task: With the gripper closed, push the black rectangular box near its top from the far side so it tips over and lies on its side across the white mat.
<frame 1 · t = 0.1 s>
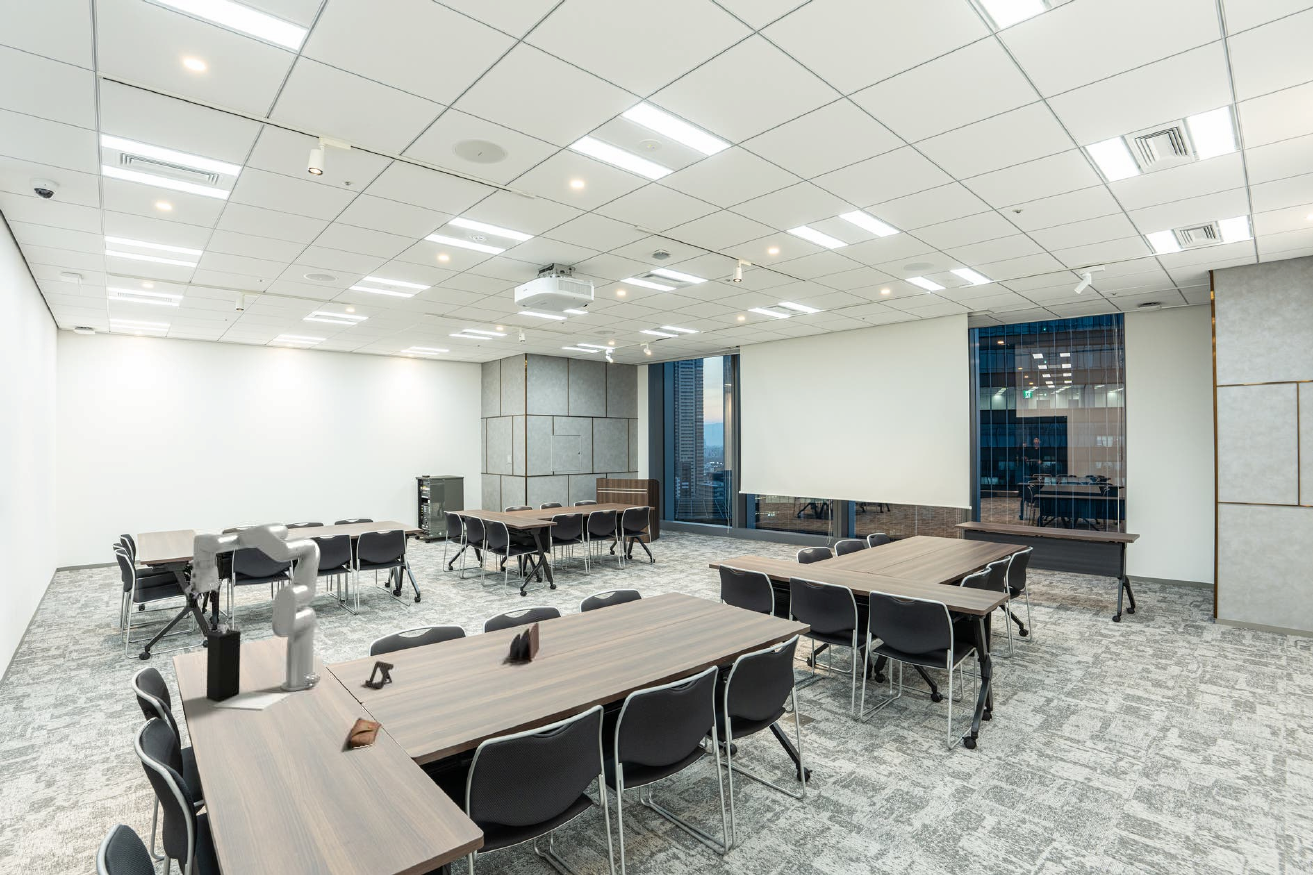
hand: (203, 604, 258), 31 cm above the table, tool pointing down, fingers open, 9 cm apart
white mat: (253, 700, 235), on the table
black rectangular box: (222, 697, 239), on the table
letter holder: (524, 656, 289), on the table
sunglasses case: (364, 738, 206), on the table
portable electronic device stand: (380, 684, 253), on the table
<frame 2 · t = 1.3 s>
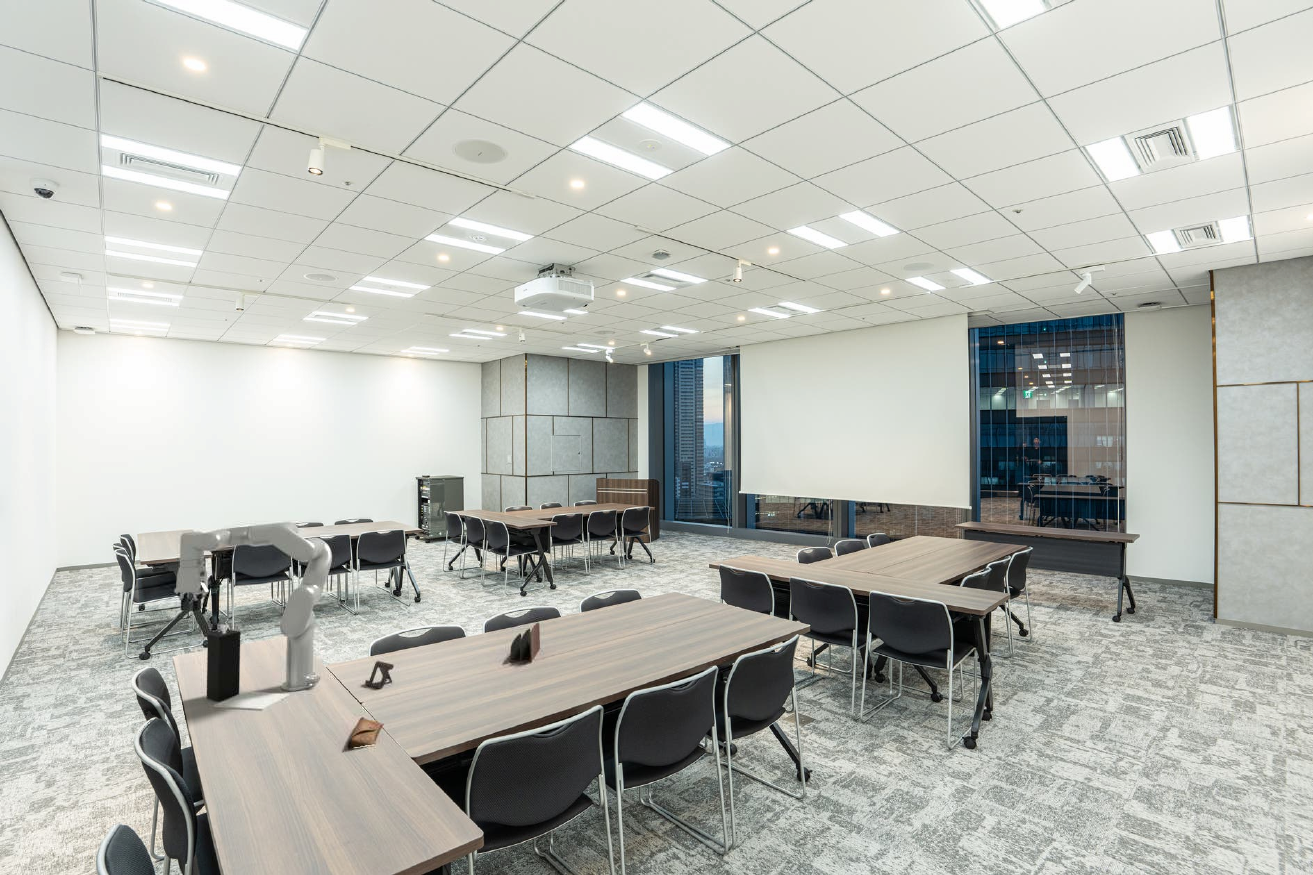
hand: (190, 609, 242), 33 cm above the table, tool pointing down, fingers open, 4 cm apart
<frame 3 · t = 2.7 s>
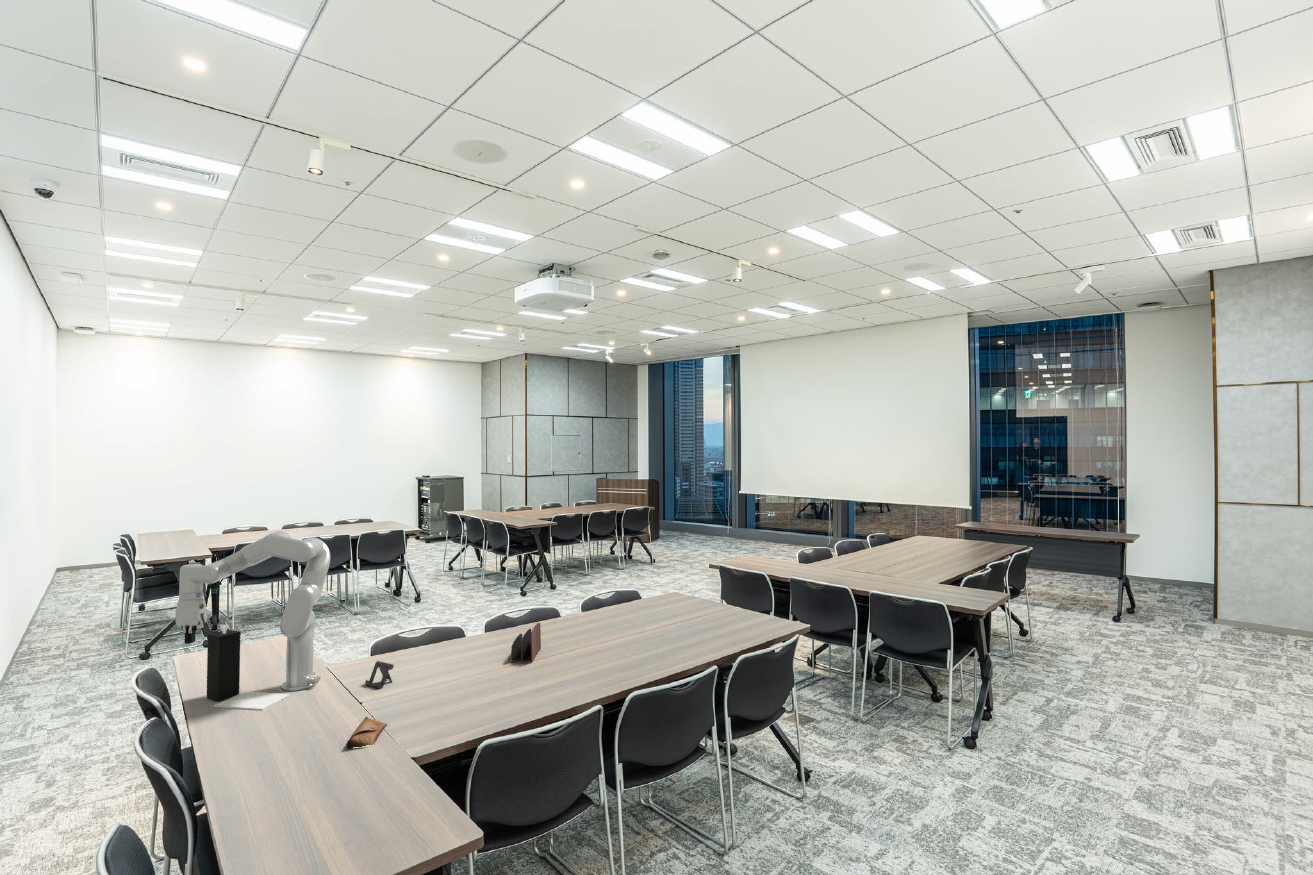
hand: (189, 642, 242), 20 cm above the table, tool pointing down, fingers closed
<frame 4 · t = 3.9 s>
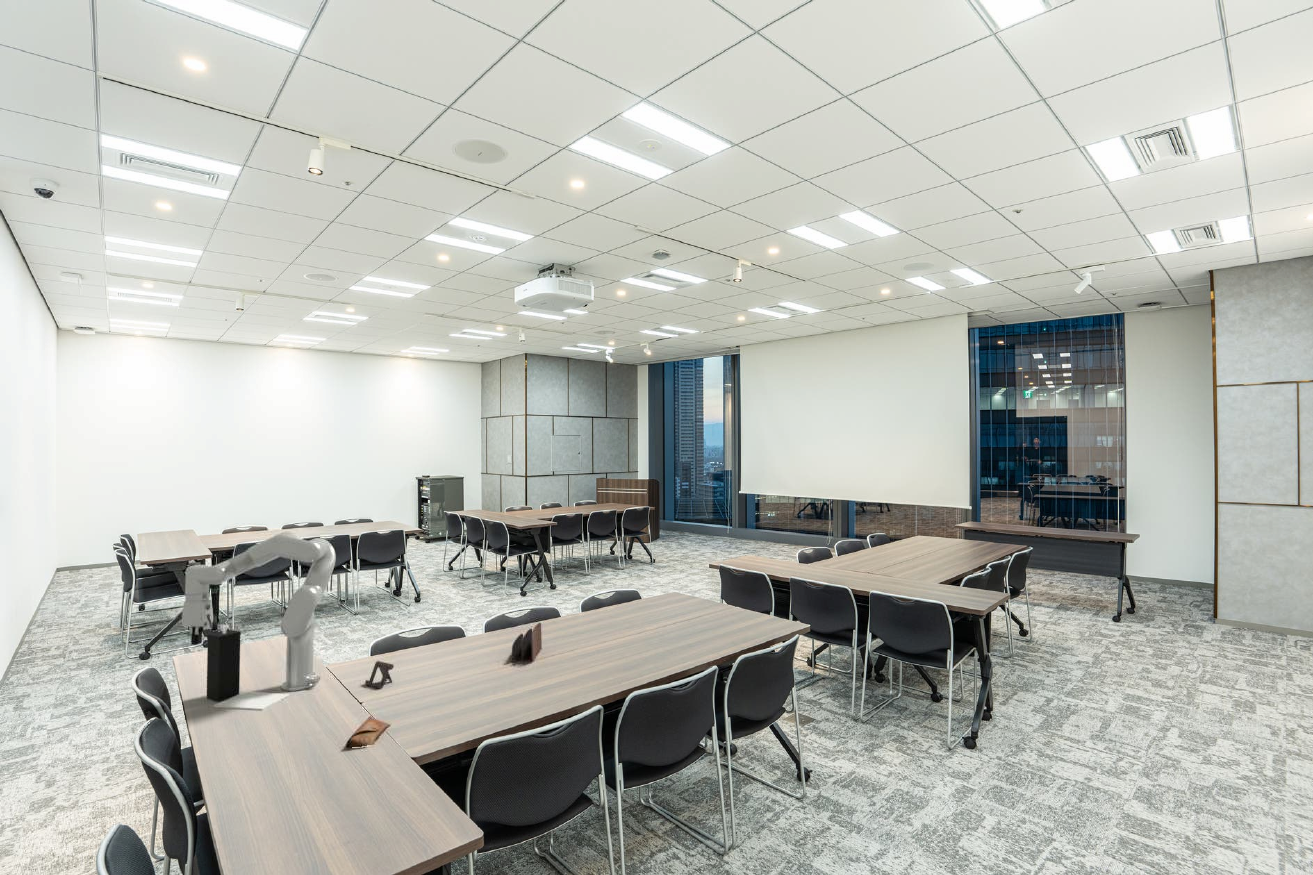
hand: (196, 643, 242), 20 cm above the table, tool pointing down, fingers closed
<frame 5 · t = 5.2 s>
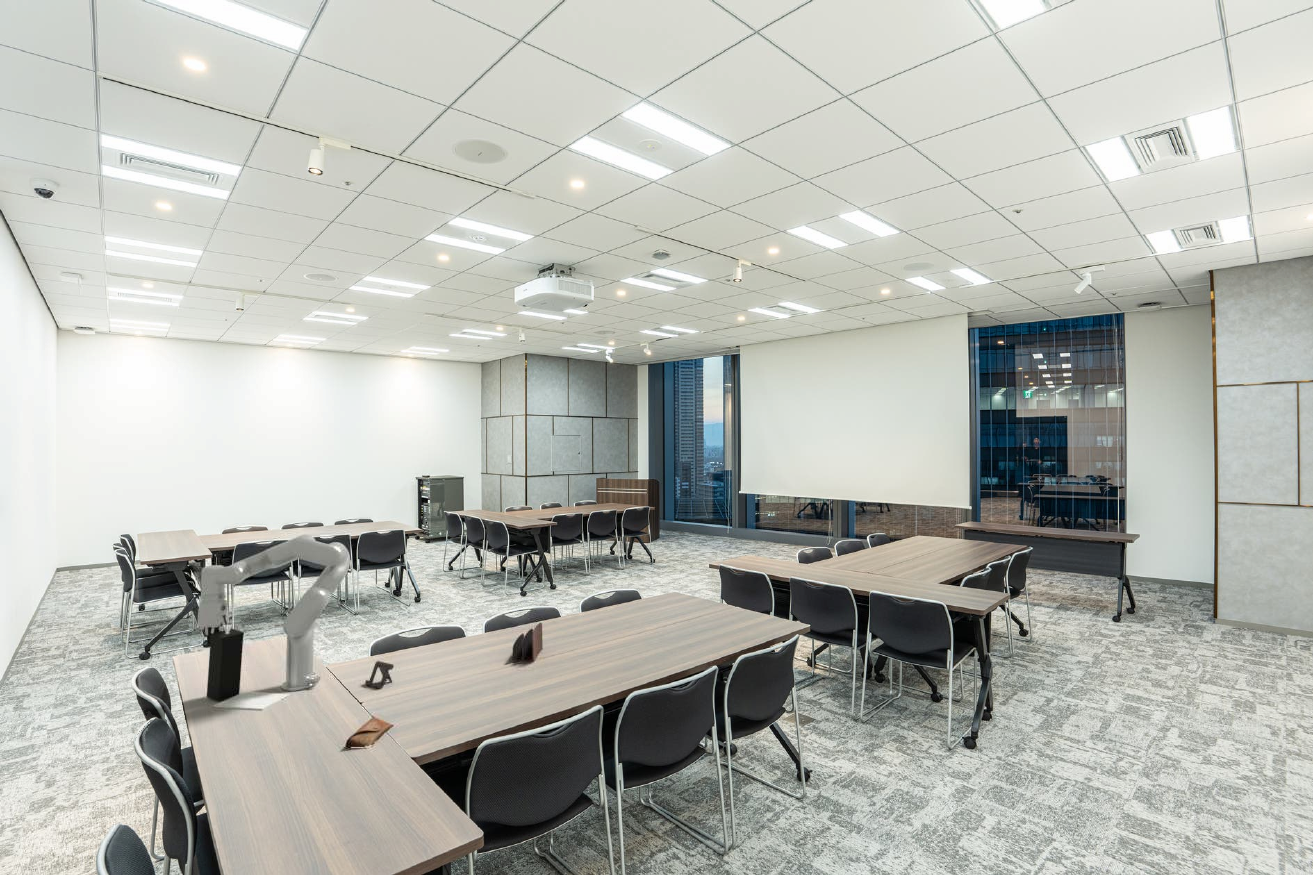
hand: (212, 644, 241), 20 cm above the table, tool pointing down, fingers closed
black rectangular box: (222, 696, 239), on the table, touching gripper
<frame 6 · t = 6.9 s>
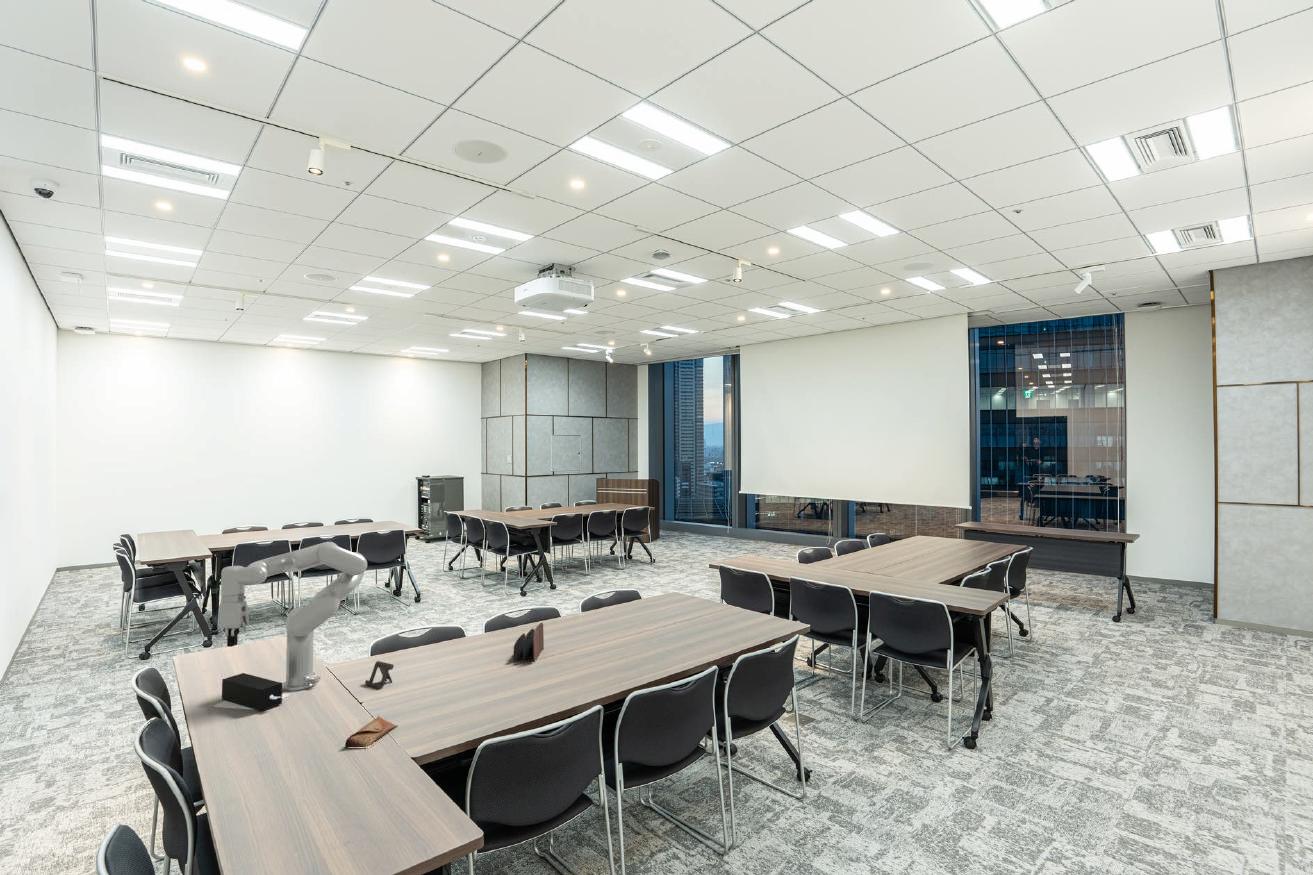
hand: (232, 645, 239), 20 cm above the table, tool pointing down, fingers closed
black rectangular box: (232, 685, 239), point 4 cm above the table, touching white mat
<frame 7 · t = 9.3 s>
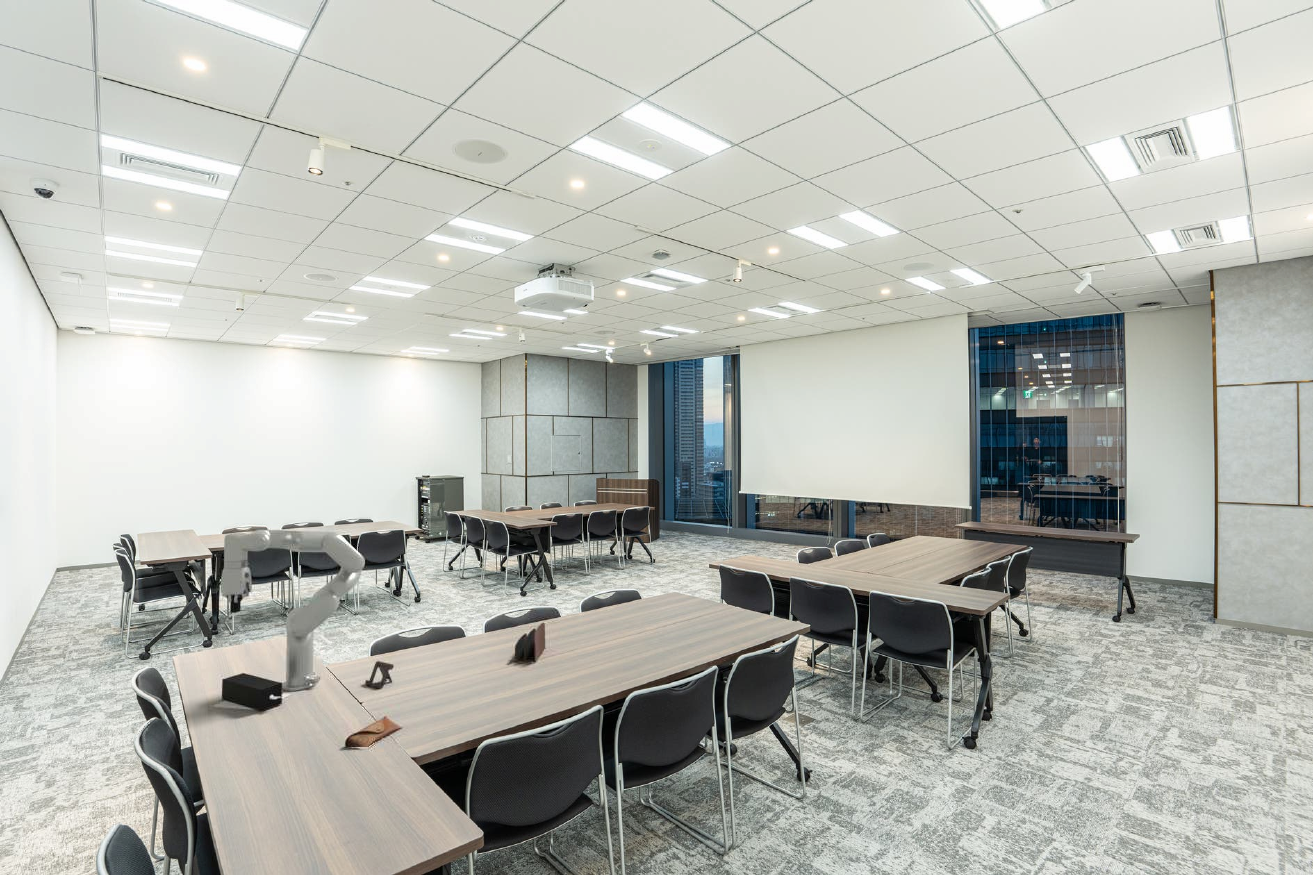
hand: (235, 611, 240), 33 cm above the table, tool pointing down, fingers closed
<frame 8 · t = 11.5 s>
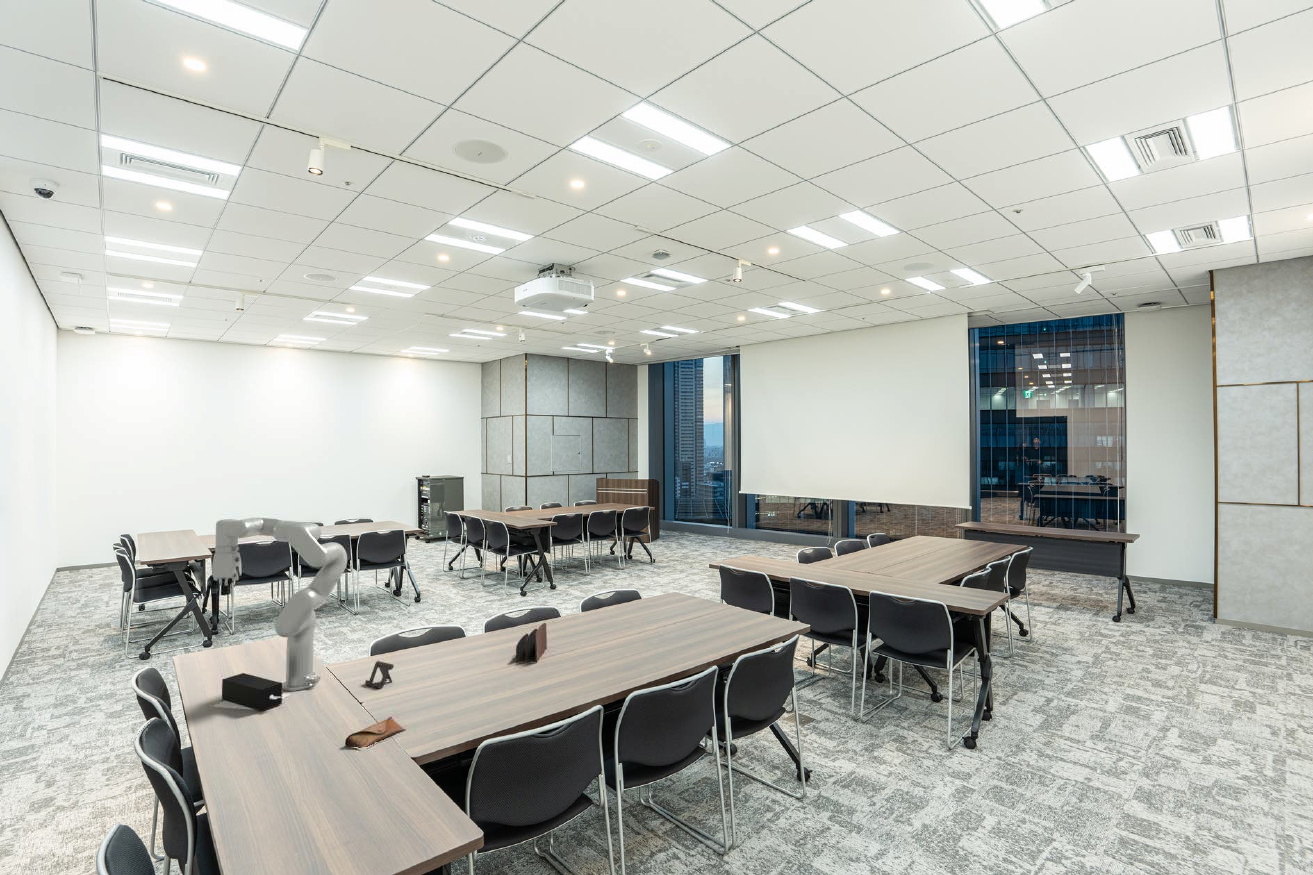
hand: (225, 594, 251), 37 cm above the table, tool pointing down, fingers closed
at the end: black rectangular box tilted 90°; black rectangular box inside the target area (1.4 cm from its centre), point 4.3 cm above the table; black rectangular box touching white mat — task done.
